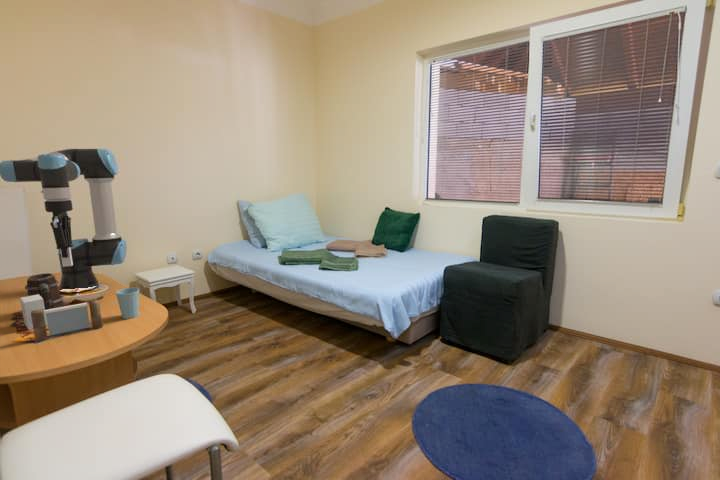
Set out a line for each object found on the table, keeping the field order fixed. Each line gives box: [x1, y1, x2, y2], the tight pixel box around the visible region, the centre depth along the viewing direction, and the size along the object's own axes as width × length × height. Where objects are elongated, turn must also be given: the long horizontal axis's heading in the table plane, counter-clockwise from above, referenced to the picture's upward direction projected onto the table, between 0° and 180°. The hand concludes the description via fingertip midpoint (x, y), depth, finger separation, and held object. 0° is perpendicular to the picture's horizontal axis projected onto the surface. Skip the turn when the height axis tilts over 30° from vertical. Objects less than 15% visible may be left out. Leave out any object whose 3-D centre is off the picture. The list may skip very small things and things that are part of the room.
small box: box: [19, 294, 48, 331], centre depth 142 cm, size 8×6×10 cm
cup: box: [115, 287, 140, 320], centre depth 150 cm, size 8×8×10 cm
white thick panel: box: [45, 302, 91, 336], centre depth 135 cm, size 12×2×9 cm, turn 128°
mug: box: [24, 272, 66, 310], centre depth 152 cm, size 16×12×15 cm
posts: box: [31, 299, 103, 343], centre depth 135 cm, size 19×3×10 cm, turn 127°
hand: (67, 265), depth 139 cm, fingers closed
